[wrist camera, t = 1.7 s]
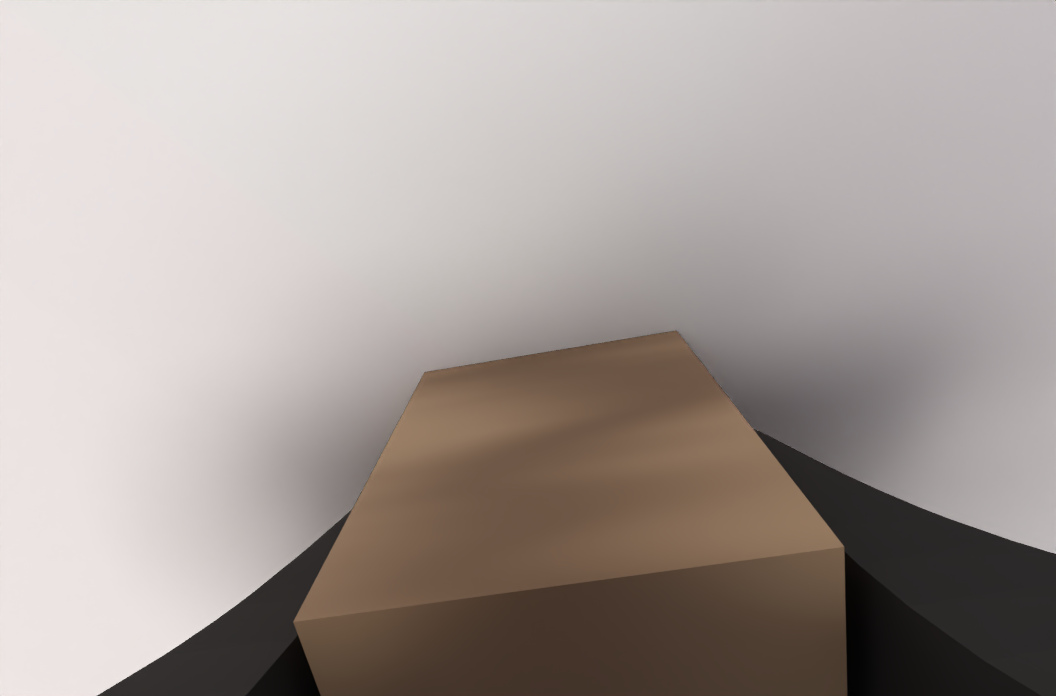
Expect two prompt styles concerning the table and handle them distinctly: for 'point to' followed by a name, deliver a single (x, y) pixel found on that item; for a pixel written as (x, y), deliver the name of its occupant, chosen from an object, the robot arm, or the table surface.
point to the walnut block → (579, 542)
